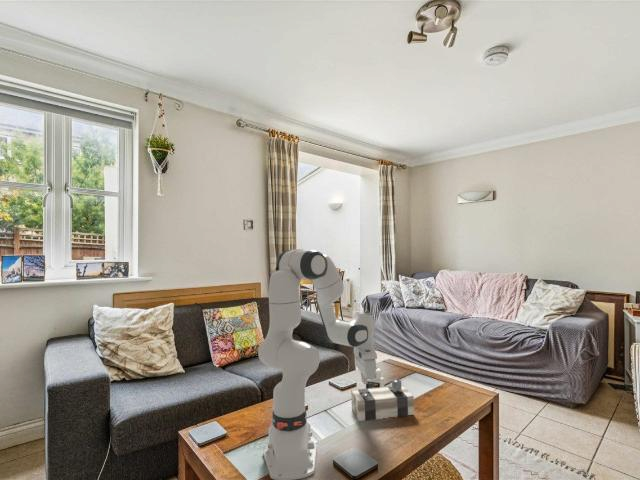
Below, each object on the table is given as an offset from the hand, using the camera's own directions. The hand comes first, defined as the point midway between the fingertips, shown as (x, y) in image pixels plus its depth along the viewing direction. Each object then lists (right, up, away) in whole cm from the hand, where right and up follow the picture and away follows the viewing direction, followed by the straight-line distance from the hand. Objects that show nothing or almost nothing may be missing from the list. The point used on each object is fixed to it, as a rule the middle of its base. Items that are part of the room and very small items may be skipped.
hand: (364, 382), depth 147 cm
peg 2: (+15, -7, +2) cm, 16 cm away
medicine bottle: (+8, -14, +20) cm, 26 cm away
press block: (+8, -13, +1) cm, 15 cm away
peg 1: (+1, -12, 0) cm, 12 cm away
